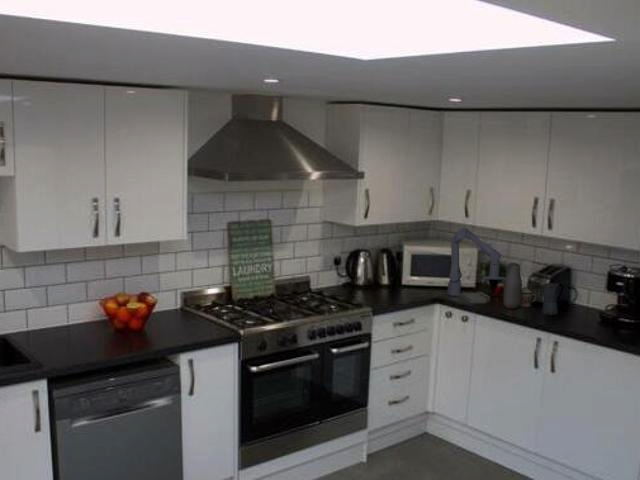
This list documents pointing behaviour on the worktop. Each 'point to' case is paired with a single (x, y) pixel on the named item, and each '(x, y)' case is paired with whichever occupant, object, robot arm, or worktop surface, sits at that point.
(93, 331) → the worktop surface
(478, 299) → the seat panel
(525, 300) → the teacup with lid
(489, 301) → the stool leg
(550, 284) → the moka pot
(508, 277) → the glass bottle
